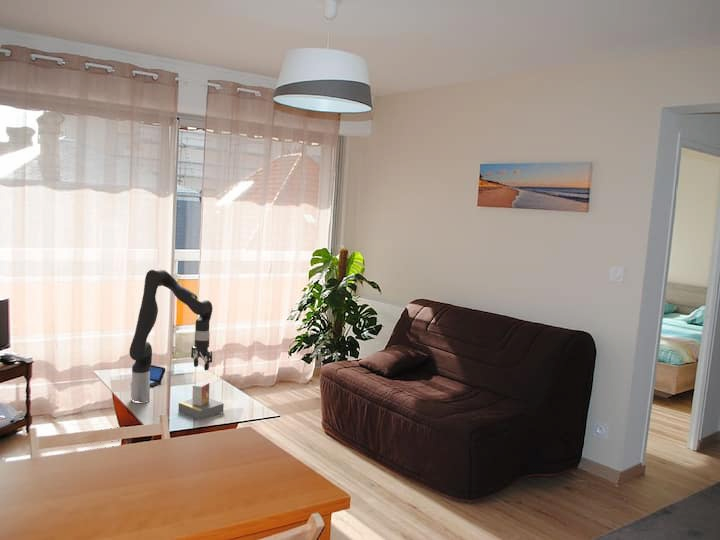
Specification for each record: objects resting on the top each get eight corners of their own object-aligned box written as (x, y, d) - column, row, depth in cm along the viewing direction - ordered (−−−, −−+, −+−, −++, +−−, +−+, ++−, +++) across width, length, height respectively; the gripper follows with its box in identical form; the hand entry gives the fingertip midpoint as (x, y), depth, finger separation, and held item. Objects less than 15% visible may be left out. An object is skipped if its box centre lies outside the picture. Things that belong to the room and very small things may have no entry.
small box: (201, 406, 318) (201, 387, 316) (192, 404, 319) (192, 385, 318) (209, 401, 325) (209, 382, 324) (200, 400, 327) (200, 381, 325)
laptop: (129, 384, 362) (130, 369, 361) (145, 378, 374) (145, 363, 373) (150, 388, 356) (151, 373, 355) (166, 382, 369) (166, 367, 367)
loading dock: (178, 412, 321) (178, 402, 321) (202, 404, 334) (202, 395, 334) (199, 420, 311) (199, 410, 311) (223, 412, 324) (223, 402, 324)
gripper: (187, 336, 319) (186, 366, 321) (205, 342, 311) (204, 372, 313) (199, 334, 325) (198, 364, 327) (216, 339, 317) (215, 369, 319)
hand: (201, 368), depth 320 cm, fingers open, 8 cm apart
